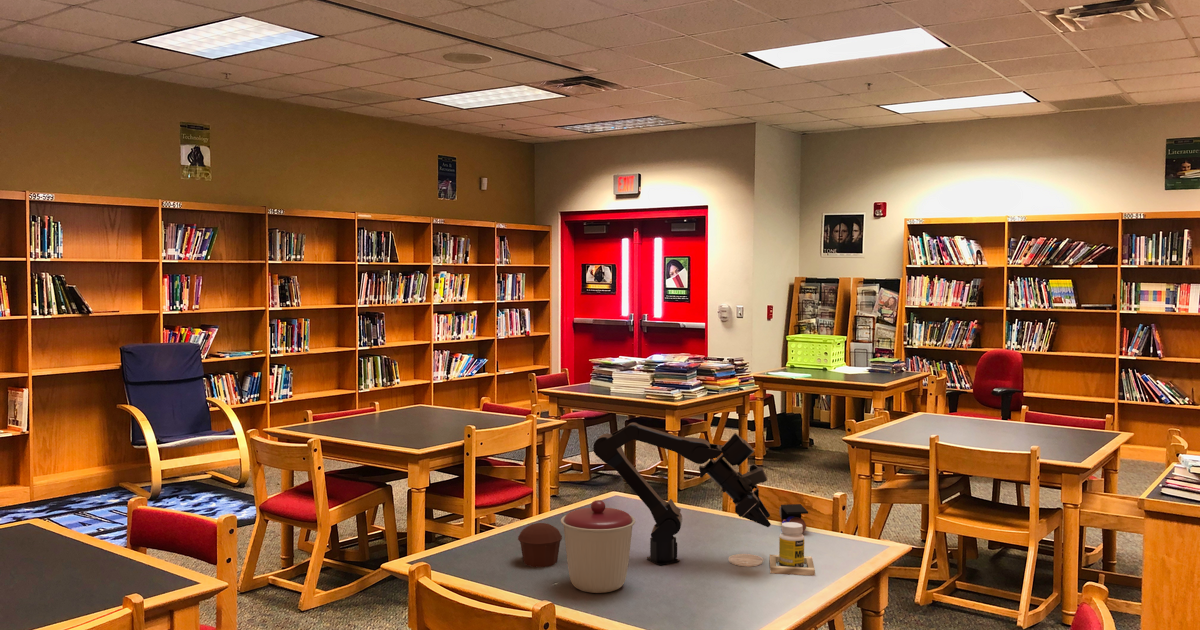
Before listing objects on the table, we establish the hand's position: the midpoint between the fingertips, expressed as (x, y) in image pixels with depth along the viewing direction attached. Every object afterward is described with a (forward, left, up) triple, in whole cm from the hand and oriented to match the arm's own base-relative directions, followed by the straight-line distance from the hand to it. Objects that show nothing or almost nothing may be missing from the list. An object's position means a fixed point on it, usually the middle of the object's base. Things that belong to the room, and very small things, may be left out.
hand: (769, 521), depth 236 cm
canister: (-47, +8, -12) cm, 49 cm away
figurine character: (+30, +24, -12) cm, 40 cm away
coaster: (-3, +6, -12) cm, 14 cm away
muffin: (-51, +32, -12) cm, 61 cm away
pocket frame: (+4, -4, -12) cm, 13 cm away
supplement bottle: (+4, -4, -12) cm, 14 cm away
